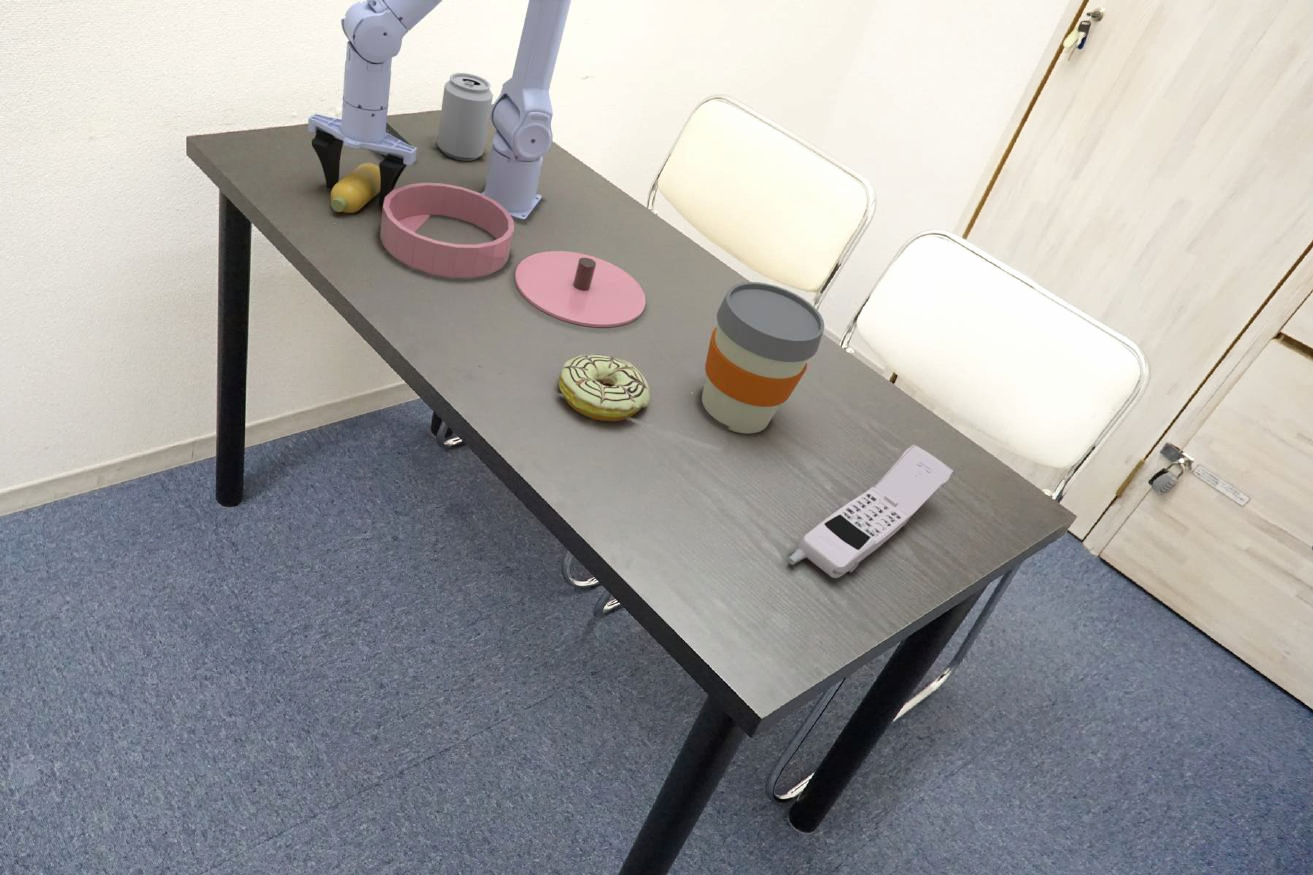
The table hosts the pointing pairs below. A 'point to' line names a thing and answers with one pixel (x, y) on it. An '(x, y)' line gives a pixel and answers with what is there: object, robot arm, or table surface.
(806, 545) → the mobile phone
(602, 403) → the decorated donut
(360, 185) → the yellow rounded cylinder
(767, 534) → the table surface
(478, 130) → the can
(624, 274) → the lid
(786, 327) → the reusable coffee cup
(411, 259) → the pot
